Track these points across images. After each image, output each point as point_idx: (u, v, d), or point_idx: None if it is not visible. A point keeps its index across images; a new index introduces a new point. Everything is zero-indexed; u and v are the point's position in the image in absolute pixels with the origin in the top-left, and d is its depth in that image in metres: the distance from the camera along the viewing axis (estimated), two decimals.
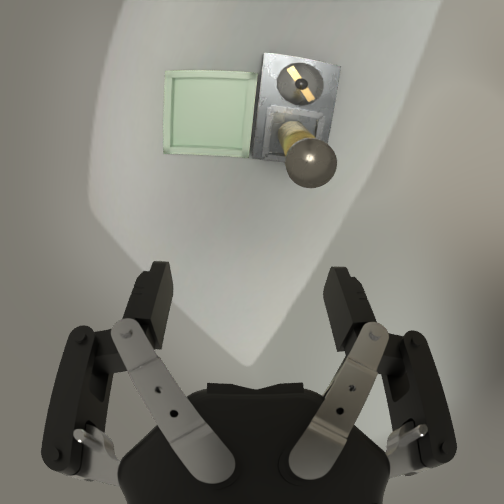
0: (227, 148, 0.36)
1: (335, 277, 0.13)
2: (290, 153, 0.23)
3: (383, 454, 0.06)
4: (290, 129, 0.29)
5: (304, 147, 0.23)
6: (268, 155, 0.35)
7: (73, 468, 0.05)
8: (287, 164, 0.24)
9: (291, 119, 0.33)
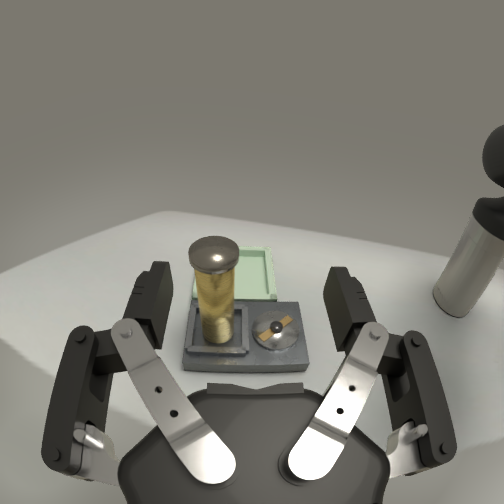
0: None
1: (335, 277, 0.13)
2: (223, 237, 0.28)
3: (383, 454, 0.06)
4: None
5: (230, 244, 0.27)
6: (195, 308, 0.35)
7: (73, 468, 0.05)
8: (212, 236, 0.28)
9: (235, 327, 0.34)
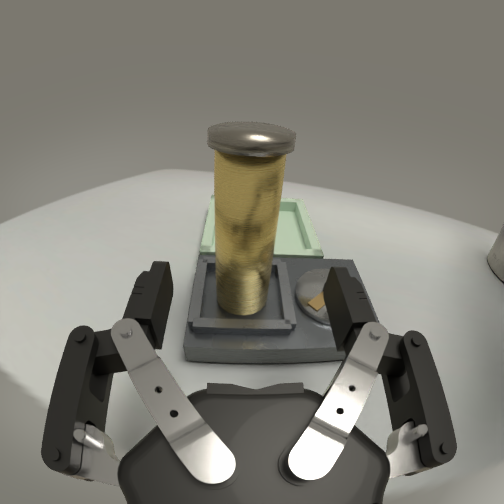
0: (213, 238, 0.29)
1: (335, 277, 0.13)
2: (263, 123, 0.16)
3: (383, 454, 0.06)
4: None
5: (278, 128, 0.15)
6: (205, 263, 0.23)
7: (73, 468, 0.05)
8: (245, 122, 0.16)
9: (268, 292, 0.22)
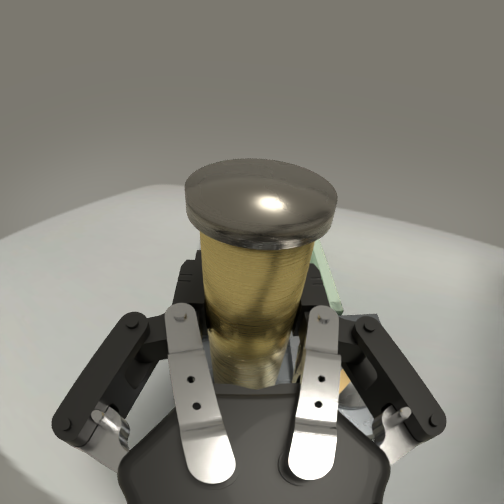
0: None
1: None
2: (278, 162, 0.10)
3: (383, 454, 0.06)
4: None
5: (303, 174, 0.09)
6: None
7: (78, 442, 0.06)
8: (250, 159, 0.10)
9: None
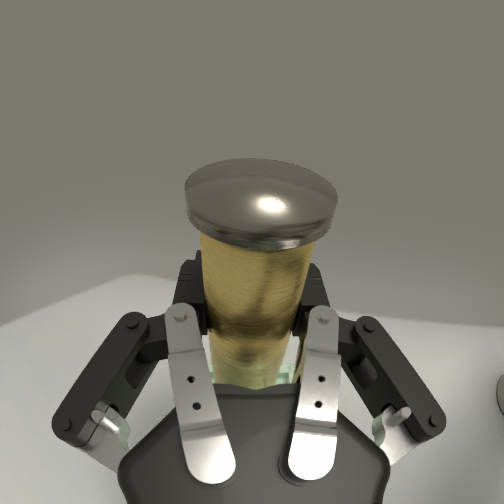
0: None
1: None
2: (278, 162, 0.10)
3: (383, 454, 0.06)
4: None
5: (303, 174, 0.09)
6: None
7: (78, 442, 0.06)
8: (250, 159, 0.10)
9: None
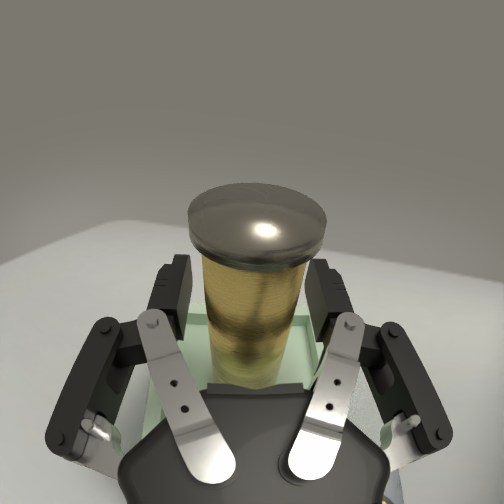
0: (163, 415, 0.14)
1: (314, 269, 0.13)
2: (273, 186, 0.11)
3: (383, 454, 0.06)
4: None
5: (296, 199, 0.10)
6: None
7: (74, 455, 0.05)
8: (247, 183, 0.11)
9: None
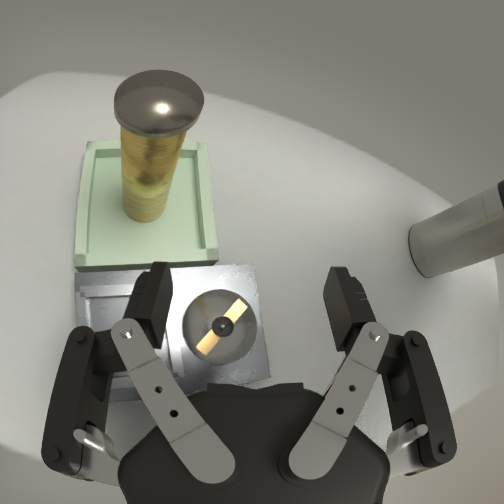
0: (88, 232, 0.20)
1: (335, 277, 0.13)
2: (174, 73, 0.13)
3: (383, 454, 0.06)
4: None
5: (187, 86, 0.13)
6: (83, 298, 0.17)
7: (73, 468, 0.05)
8: (156, 70, 0.12)
9: None
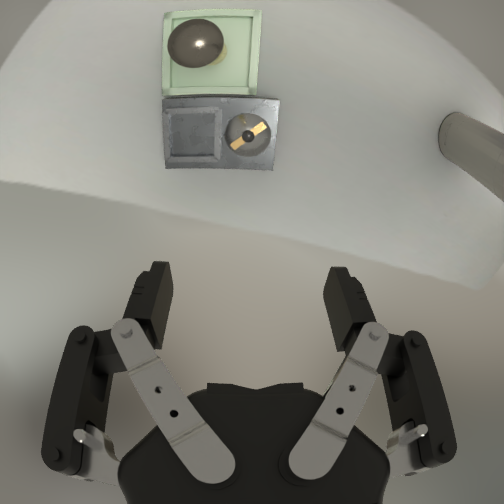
0: (170, 73, 0.28)
1: (335, 277, 0.13)
2: (205, 20, 0.16)
3: (383, 454, 0.06)
4: None
5: (213, 32, 0.17)
6: (167, 115, 0.31)
7: (73, 468, 0.05)
8: (192, 20, 0.16)
9: (208, 130, 0.33)
